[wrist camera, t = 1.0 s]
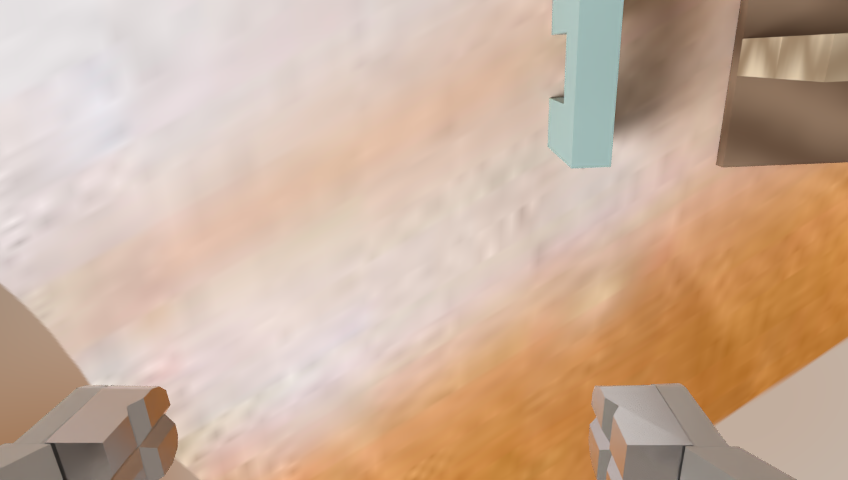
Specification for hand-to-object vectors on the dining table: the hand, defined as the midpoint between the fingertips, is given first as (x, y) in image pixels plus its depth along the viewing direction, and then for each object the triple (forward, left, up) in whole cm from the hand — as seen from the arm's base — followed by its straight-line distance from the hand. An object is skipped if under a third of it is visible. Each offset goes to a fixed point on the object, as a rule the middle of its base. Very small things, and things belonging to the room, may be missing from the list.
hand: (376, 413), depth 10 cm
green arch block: (-5, +11, -33) cm, 35 cm away
